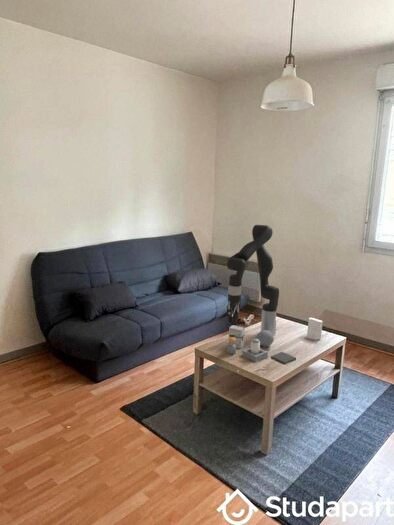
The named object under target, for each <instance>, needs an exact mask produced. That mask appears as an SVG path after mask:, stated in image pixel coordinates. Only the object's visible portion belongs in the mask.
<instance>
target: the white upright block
mask: <svg viewBox="0 0 394 525" xmlns="http://www.w3.org/2000/svg"><path fill="white" fill-rule="evenodd" d="M307 323H308V324H307V330H306V333H307V334H306V337H307V338H308V339H310V338H311V340H314V339H318V340H321V339H322V334H323V332H322V331H323V320H321V319H317V318H314V317H309V318H308V322H307Z"/></svg>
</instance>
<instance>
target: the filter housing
mask: <svg viewBox="0 0 394 525" xmlns="http://www.w3.org/2000/svg"><path fill="white" fill-rule="evenodd" d="M226 353H227V354H228V355H230V356H234V355H236V353H237V347H236V344H227V349H226ZM268 354H269V352H268V351H266V350H264V349H261V348H260V352H259V354H257V355H254V354H252V353H251V347H248V348H246V349H242V354H241V356H243V357H244V358H247V359H249V360H251V361H253V362H255V363H256V362H258V361H261V360H263V359H266V358H268V356H269V355H268Z"/></svg>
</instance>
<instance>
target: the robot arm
mask: <svg viewBox="0 0 394 525" xmlns="http://www.w3.org/2000/svg"><path fill="white" fill-rule="evenodd" d="M251 235H252V239H253V240H252V241H250V242H247V243H246V244H244V246H243V247H242V248H241V249H240V250H239V251H238V252H236V253H234V254H233V255H231V256H230V257H229V258H228V260H227V262H226V266H227V269H229V270H230V271H235V272H236V273H233V274H230V275H229V278H228V288H227V291H228V292H227V301H228V302H229V305H226V317H228V323H230V324H232V323H233V321H234V320H233V318H234V319H235V320H238V319H239V313H240V311H241V306H242V302H241V301H242V280H243V276H244V274H245V270H246V267H247V266H246V265H247V264H246V262H248V261H249V260H250V258H252V257H253V255H255V253H256V259H257V260H256V261H257V268H258V272H259V273H258V274H259V287H260V288H259V290H260V291H259V292H260V297H262V298H263V299H266V300H269V302H268V303H264V304H263V305H261V306H262V308H261V319H260V320H261V323H260V331H262V330H268V331H270V332H271V333H272V335H273V337H274V336H275V335H276V333H277V332H276V331H277V309H278V305H279V298H280V289H279V288H278V287H277V286H275V285H270V284H269V277H270V276H271V274H272V272H273V270H274V264H273V263H274V262H273V257H272V255H271V254H270V252H269V250H267V248H266V247H265V244H266V243H267V242H269V241H270V239H271V238H272V236H273V227H271V226H270V225H265V224H255V225H254V226H253V227H252V231H251Z"/></svg>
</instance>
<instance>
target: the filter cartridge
mask: <svg viewBox="0 0 394 525" xmlns="http://www.w3.org/2000/svg"><path fill="white" fill-rule="evenodd" d="M250 348H251V353H252V354H254V355H257V354H259V352H260V349H261V345H260V340H259V339H257V338H252V339H251V343H250Z"/></svg>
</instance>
